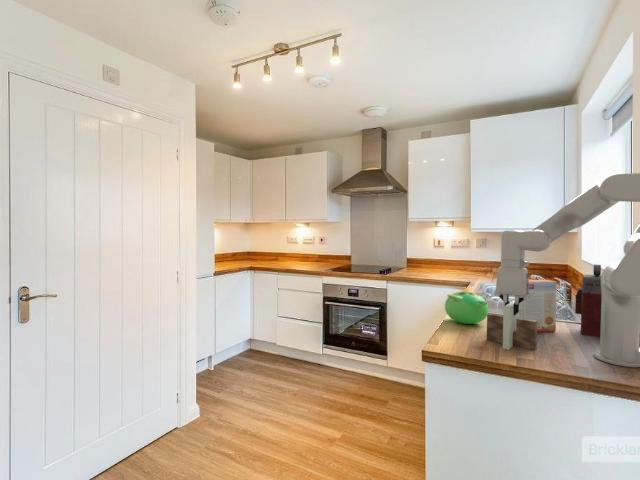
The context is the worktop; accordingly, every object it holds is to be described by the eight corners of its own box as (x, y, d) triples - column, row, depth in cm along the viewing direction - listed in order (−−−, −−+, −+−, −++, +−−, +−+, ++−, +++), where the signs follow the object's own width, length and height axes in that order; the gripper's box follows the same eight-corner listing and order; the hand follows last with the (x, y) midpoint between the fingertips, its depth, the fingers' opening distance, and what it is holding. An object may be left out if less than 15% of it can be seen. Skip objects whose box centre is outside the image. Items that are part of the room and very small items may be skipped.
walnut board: (536, 348, 123) (537, 320, 123) (535, 350, 121) (535, 322, 121) (488, 338, 134) (489, 312, 133) (486, 340, 132) (487, 314, 131)
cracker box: (546, 327, 147) (547, 279, 147) (556, 332, 141) (557, 281, 140) (514, 328, 147) (515, 279, 146) (522, 332, 141) (524, 281, 140)
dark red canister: (575, 328, 147) (577, 262, 145) (609, 333, 139) (612, 264, 138) (573, 333, 140) (575, 264, 138) (609, 339, 132) (611, 266, 131)
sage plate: (518, 339, 132) (519, 300, 131) (508, 349, 122) (509, 307, 121) (512, 338, 133) (513, 300, 133) (502, 348, 123) (503, 306, 122)
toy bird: (487, 320, 158) (488, 288, 158) (488, 330, 143) (489, 295, 142) (446, 316, 166) (446, 286, 165) (443, 325, 150) (443, 292, 150)
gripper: (539, 264, 124) (538, 315, 124) (492, 261, 134) (491, 308, 135) (535, 266, 118) (534, 319, 119) (486, 263, 129) (485, 312, 129)
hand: (511, 313), depth 127 cm, fingers closed on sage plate, 1 cm apart
